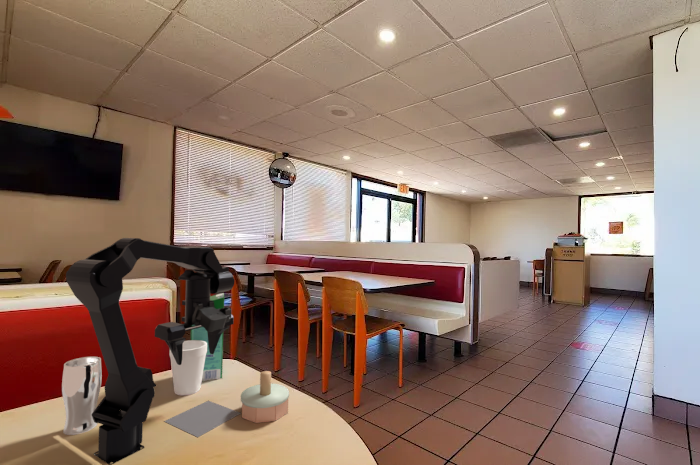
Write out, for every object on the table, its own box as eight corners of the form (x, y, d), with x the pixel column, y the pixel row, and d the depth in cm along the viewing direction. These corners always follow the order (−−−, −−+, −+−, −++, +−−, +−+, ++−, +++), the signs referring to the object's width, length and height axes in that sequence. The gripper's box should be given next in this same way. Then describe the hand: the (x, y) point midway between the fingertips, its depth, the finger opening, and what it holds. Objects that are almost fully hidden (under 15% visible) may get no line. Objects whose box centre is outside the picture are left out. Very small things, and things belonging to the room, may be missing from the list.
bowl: (265, 429, 78) (266, 411, 78) (232, 416, 84) (232, 399, 84) (296, 409, 88) (296, 393, 88) (264, 398, 93) (264, 383, 93)
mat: (197, 439, 74) (197, 437, 74) (163, 423, 80) (163, 421, 80) (241, 415, 84) (241, 413, 84) (208, 402, 90) (208, 400, 90)
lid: (266, 412, 78) (266, 386, 78) (230, 399, 84) (230, 375, 84) (298, 393, 88) (299, 370, 88) (264, 383, 94) (264, 361, 94)
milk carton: (191, 372, 110) (193, 293, 110) (221, 369, 113) (223, 292, 113) (189, 383, 101) (191, 298, 102) (222, 380, 104) (224, 296, 105)
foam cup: (212, 386, 100) (213, 341, 100) (194, 401, 91) (196, 351, 91) (180, 384, 101) (182, 339, 101) (160, 398, 92) (162, 349, 92)
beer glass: (106, 427, 78) (108, 360, 78) (68, 442, 72) (71, 369, 72) (91, 418, 81) (93, 354, 82) (54, 432, 75) (56, 363, 76)
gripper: (184, 306, 75) (182, 378, 75) (249, 294, 91) (247, 354, 91) (154, 300, 81) (152, 368, 80) (220, 290, 97) (218, 347, 96)
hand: (196, 359), depth 87 cm, fingers open, 9 cm apart
